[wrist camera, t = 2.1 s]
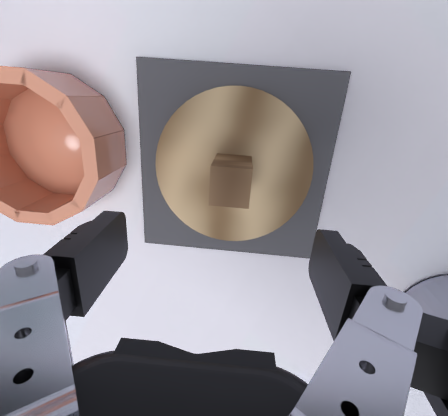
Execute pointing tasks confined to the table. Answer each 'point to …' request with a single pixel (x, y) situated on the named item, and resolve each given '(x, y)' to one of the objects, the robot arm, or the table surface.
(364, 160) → the table surface
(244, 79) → the mat
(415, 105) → the table surface
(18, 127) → the bowl
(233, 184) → the lid
